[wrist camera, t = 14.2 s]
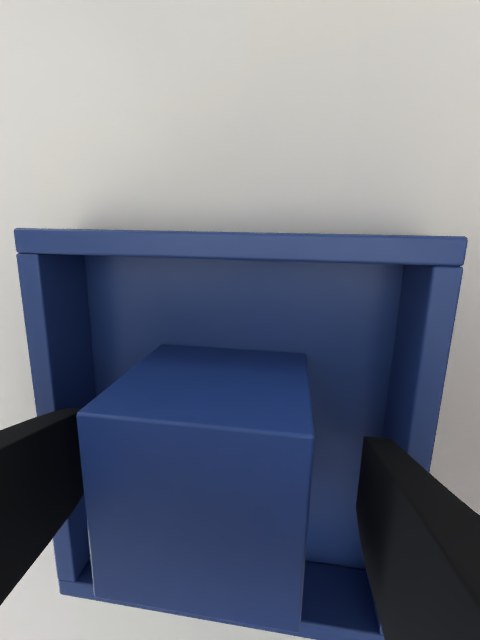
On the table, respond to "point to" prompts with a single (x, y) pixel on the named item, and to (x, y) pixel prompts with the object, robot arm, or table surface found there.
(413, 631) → the robot arm
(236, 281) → the blue tray
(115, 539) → the blue block
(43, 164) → the table surface
